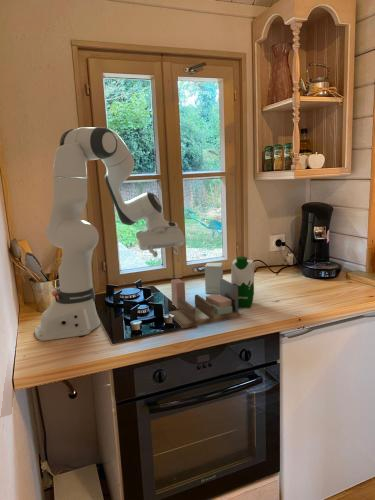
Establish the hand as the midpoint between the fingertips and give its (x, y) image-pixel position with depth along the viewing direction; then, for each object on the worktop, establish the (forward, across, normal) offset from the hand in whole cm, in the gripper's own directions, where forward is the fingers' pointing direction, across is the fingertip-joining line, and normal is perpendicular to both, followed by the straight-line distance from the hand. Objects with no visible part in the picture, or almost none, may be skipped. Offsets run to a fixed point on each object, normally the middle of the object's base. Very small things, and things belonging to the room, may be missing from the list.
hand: (166, 254), depth 161 cm
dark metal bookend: (+31, +15, -6) cm, 35 cm away
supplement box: (+14, +22, +14) cm, 29 cm away
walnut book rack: (+32, +4, -5) cm, 33 cm away
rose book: (+23, 0, +5) cm, 23 cm away
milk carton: (+30, +24, -2) cm, 38 cm away
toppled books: (+31, +11, -6) cm, 34 cm away
